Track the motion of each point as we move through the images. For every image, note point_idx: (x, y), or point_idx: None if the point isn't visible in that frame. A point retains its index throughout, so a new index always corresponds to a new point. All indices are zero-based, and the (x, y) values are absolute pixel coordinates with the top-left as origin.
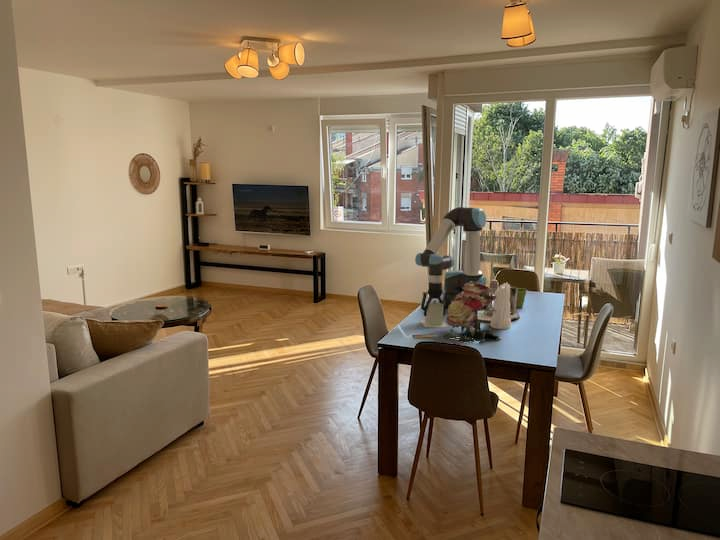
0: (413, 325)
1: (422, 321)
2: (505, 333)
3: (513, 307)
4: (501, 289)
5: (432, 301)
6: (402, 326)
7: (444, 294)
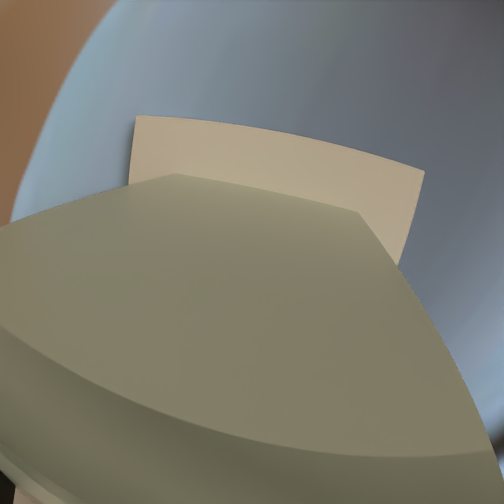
0: None
1: (149, 155)
2: (500, 467)
3: None
4: None
5: (16, 466)
6: (14, 214)
7: None
